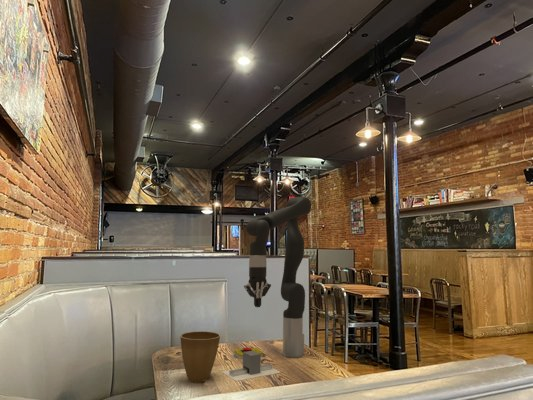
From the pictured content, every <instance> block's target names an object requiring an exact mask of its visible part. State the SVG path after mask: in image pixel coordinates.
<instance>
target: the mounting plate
mask: <svg viewBox="0 0 533 400" xmlns="http://www.w3.org/2000/svg"><path fill="white" fill-rule="evenodd" d="M264 364H265V363H264ZM264 364H263V363H261V365H264ZM241 368H242V367H240V368H238V369H241ZM235 369H236V368H235ZM235 369H234V368H233V369H232V370H235ZM230 370H231V369H230ZM230 370H224V371H221V373H222V374H223V375H225V376H227V377H228V378H230V379H232V380H233V381H235V383H236V382H241V381H246V380H251V379H256V378H261V377H266V376H271V375H277V374H281V373H282V372H281V371H279V370H277V369H275V368H274V367H272V369H270V370H265V371H260V373H258V374H253V375H250V374H244V375H238V376H233V377H232V376H231V375H229V371H230Z"/></svg>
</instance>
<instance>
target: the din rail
mask: <svg viewBox="0 0 533 400" xmlns="http://www.w3.org/2000/svg"><path fill="white" fill-rule="evenodd" d="M240 368H241V369H239V368H235V370H233V369H230V371H229V375H231V376H232V377H233V376H238V375H244V374H249V368H243V367H240ZM272 368H273V364H270V363H266V364H265V363H264V365H262V364H261V366H260V371H265V370H270V369H272Z"/></svg>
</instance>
